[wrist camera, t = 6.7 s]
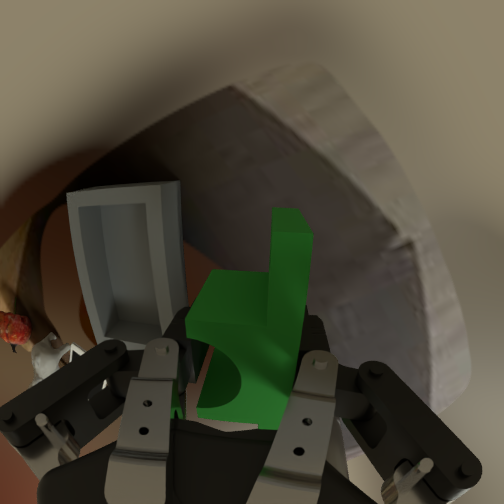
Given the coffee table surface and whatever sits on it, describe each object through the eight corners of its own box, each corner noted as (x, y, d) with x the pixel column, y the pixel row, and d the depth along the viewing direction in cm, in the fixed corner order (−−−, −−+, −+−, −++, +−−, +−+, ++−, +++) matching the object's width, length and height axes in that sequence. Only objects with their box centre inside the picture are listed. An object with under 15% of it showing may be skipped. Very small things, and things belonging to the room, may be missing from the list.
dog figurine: (54, 370, 39) (26, 403, 29) (48, 325, 35) (10, 359, 25) (74, 384, 39) (48, 420, 29) (71, 340, 35) (34, 379, 25)
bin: (192, 334, 32) (180, 360, 27) (116, 324, 33) (97, 344, 28) (180, 180, 26) (160, 184, 21) (93, 186, 27) (66, 193, 22)
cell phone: (69, 387, 41) (67, 389, 40) (73, 340, 36) (71, 342, 35) (100, 409, 41) (99, 411, 41) (111, 367, 36) (109, 369, 36)
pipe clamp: (212, 204, 12) (178, 225, 7) (298, 208, 12) (314, 231, 7) (217, 392, 15) (203, 451, 11) (278, 397, 15) (278, 457, 11)
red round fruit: (16, 299, 37) (13, 349, 34) (-8, 290, 30) (-12, 345, 27) (40, 303, 37) (36, 356, 34) (14, 294, 31) (10, 355, 27)
